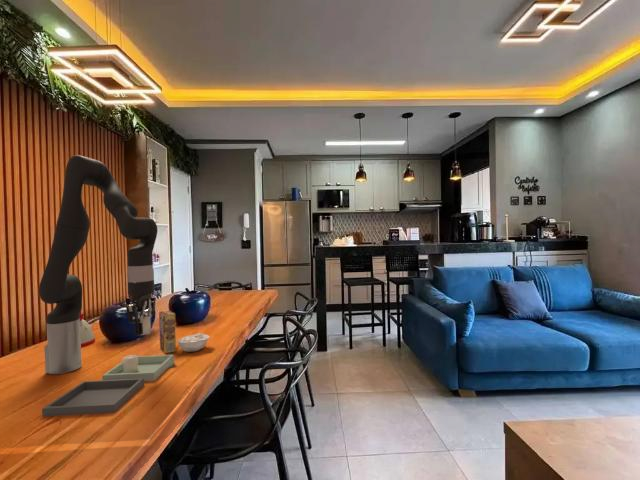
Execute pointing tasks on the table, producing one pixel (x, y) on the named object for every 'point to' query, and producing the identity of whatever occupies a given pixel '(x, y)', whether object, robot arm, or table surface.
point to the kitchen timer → (86, 333)
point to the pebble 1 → (130, 364)
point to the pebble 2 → (146, 325)
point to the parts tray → (94, 397)
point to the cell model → (193, 342)
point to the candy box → (167, 331)
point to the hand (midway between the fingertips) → (142, 332)
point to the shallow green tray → (143, 368)
